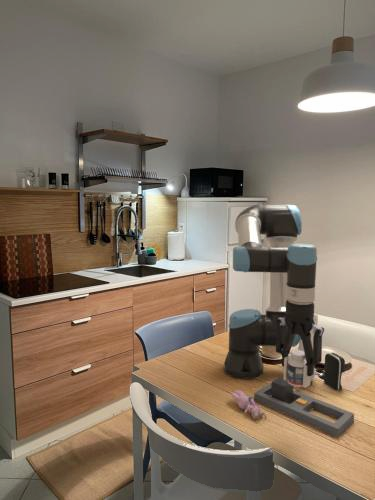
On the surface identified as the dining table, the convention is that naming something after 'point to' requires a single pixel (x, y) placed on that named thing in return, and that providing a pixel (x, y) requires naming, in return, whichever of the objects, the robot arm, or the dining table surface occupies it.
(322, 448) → the dining table surface
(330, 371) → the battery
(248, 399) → the rabbit figure
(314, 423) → the gray rectangular open frame
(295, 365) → the pill bottle
